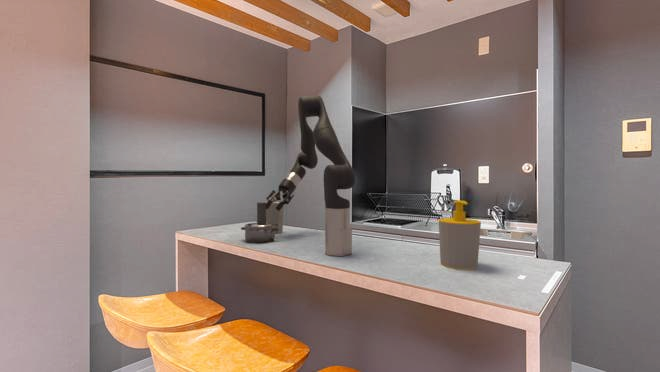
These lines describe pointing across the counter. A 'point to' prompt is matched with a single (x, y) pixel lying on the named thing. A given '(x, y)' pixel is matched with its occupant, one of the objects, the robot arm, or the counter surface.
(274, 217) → the skincare box
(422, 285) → the counter surface
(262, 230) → the pot
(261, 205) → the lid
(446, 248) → the soap bottle
